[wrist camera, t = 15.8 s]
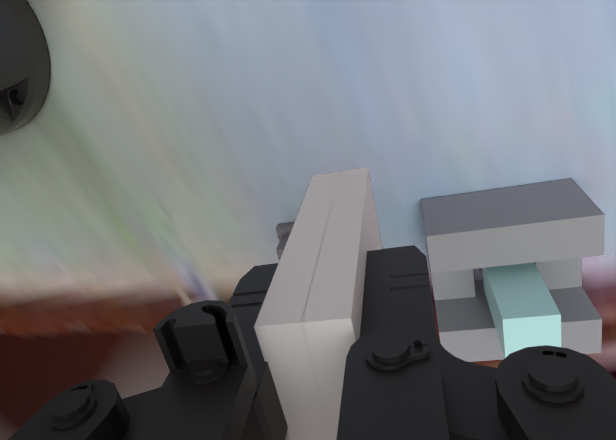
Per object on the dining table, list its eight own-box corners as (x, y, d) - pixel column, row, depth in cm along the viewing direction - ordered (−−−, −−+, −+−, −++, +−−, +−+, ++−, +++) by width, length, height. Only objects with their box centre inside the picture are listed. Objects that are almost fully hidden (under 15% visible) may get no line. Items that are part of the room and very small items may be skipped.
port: (436, 317, 48) (443, 368, 42) (420, 199, 43) (426, 236, 37) (572, 305, 46) (601, 357, 39) (571, 178, 41) (604, 214, 34)
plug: (478, 271, 46) (505, 361, 35) (475, 236, 44) (502, 319, 33) (520, 267, 45) (561, 358, 34) (518, 231, 43) (560, 314, 33)
